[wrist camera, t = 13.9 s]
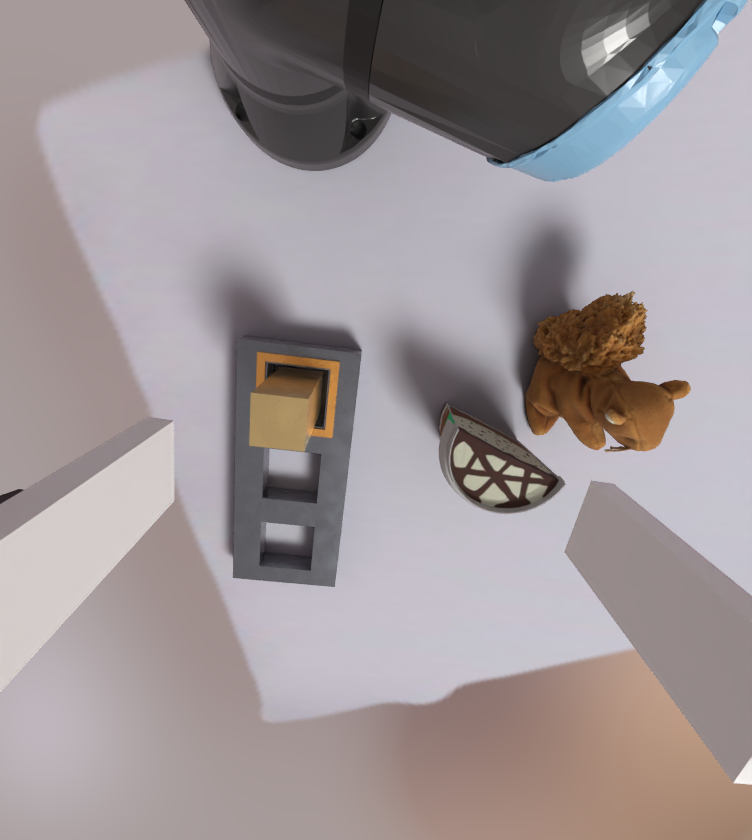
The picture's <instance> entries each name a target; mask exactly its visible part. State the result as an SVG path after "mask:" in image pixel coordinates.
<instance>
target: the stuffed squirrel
mask: <svg viewBox="0 0 752 840" xmlns="http://www.w3.org/2000/svg"><path fill="white" fill-rule="evenodd" d="M634 294H635V292H633V291H632V292H630V293H628V294H626V295H623V296H621V295H620V296H618V293H617V294H616V295H613V296H611V295H607V294H606V295H605V296H602V297H599V298H598V299H596V300H595V301H592V303H591V304H589V305H588V306H585V307H584V308H583V309H582V311H580V310H574V309H573V310H569V311H568V312H566V313H564V314H560V315H559V316H558V317H556V316H555V317H554V316H552V317H550V316H548V318H547V319H545V320H544V321H541V322H540V323H538V324H539V328H538V329H537V331H536V332H537V333H536V334H535V337H533V339H534V345H535V348H537V349H539V356H541V355H542V356H541V357H540V358H539V360H538V362H537V364H536V367H535V370H534V373H533V376H532V379H531V382H530V385H529V387H528V390H527V392H526V409H527V417H528V422H529V425H530V427H531V430H532V432H533V434H535V435H544V434H545V433H547V432H548V431H549V430H550V429H551V427H552V426H553V425H554V423H555V422H556V421H557V419H558V418H559V416H560V417H562V418H564V419H565V421H566V422H567V423H568V425H569V426H570V428H571V429H572V431H573V433H574V434H575V435H576V437H577V438H578V439H579V440H580V441H581V442H582V443H583V444H584V445H586V446H587V447H589V448H591V449H594V450H599V449H600V448H602V447H604V446H605V444H606V439H605V434H604V430H603V428H604V429H605V430H606V431H607V432H608V433H609V434H610V435H611V436H612V437H613V438H614V439H615V440H616V441H617V442H618V443H620V444H622V445H624V446H625V447H622V446H620V447H612V446H611V447H610V449H611V450H610V449H606V450H605V452H615V451H625V450H629V449H633V450H636V451H649V450H652V449H654V448H656V447H657V446H658V445H659V444H660V443H661V440H662V438H663V436H664V433H665V431H666V429H667V427H668V425H669V422H670V419H671V418H672V416H673V414H674V401H673V400H675V399H680V398H683V397H685V396H686V395H687V394H688V393H689V392H690V390H691V388H690V386H689V383H688V382H686V381H679V380H673V381H669V382H664V383H662V384H660V385H656V384H654V383H649V382H642V381H631V380H630V378H629V377H628V375H627V374H626V372H625V371H624V369H623V368H622V367H621V366H620V365H621V363H623V362H625V361H629V360H632V359H635V358H636V357H637V355H640V354H643V350H644V349H645V348H644V347H640V345H641V344H642V343H643V341H644V339H645V338H644V335H643V334H642V333H644V331H646V330H645V329H646V327H645V324H644V323H645V321H644V320H645V319H646V317H647V316H646V314H645V313H646V312H647V311H648V310H646V309H645V308H644V305H643V302H642V303H641V304H638V303H637V302H635V303H634V304H632V303H633V302H632V297H633V295H634ZM612 449H620V450H612Z"/></svg>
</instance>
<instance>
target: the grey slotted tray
mask: <svg viewBox="0 0 752 840" xmlns="http://www.w3.org/2000/svg"><path fill="white" fill-rule="evenodd" d="M361 352H362V350H355V349H347V348H339V347H331V346H323V345H315V344H307V343H299V342H291V341H283V340H275V339H267V338H258V337H250V336H243V337H240V338H237V367H236V428H235V489H234V551H233V578H241V579H252V580H263V581H274V582H286V583H297V584H308V585H319V586H330V587H335V580H336V571H337V562H338V553H339V545H340V536H341V527H342V518H343V510H344V501H345V492H346V483H347V475H348V466H349V457H350V448H351V440H352V431H353V422H354V414H355V405H356V396H357V387H358V379H359V370H360V361H361ZM273 364H280V365H288V366H296V367H304V368H313V369H321V370H329V374H328V385H327V396H326V407H325V418H324V419H317V421H316V424H315V426H314V429H313V431H312V434H311V436H310V439H309V441H308V444H307V446H306V449H305V451H304V452H308V453H318V454H321V463H320V474H319V485H318V492H309V491H299V490H289V489H279V488H270V487H268V468H269V448H266V447H257V446H249V437H250V401H251V392H252V391H253V390H254V389H255V388H257V387H258V386H259V385H260V384H261V383H262V382H263V381H265V380H266V379H267V378H268V377H269V376H270V375H271V374H273ZM271 449H275V448H271ZM281 450H284V449H281ZM290 451H294V450H290ZM299 452H303V451H299ZM266 522H269V523H279V524H290V525H300V526H310V527H315V530H314V541H313V552H312V557H307V556H296V555H286V554H275V553H265V534H266Z"/></svg>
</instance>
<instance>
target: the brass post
mask: <svg viewBox="0 0 752 840" xmlns="http://www.w3.org/2000/svg"><path fill="white" fill-rule="evenodd" d="M322 383H323V372H321V371H313V370H304V369H296V368H288V367H280V368H278V369H277V370H276V371H275V372H274V373H273V374H271V375H270V376H269V377H268V378H267V379H266V380H265V381H263V382H262V383H261V384H260V385H259V386H258V387H257V388H255V389H254V390H253V391H252V392H251V401H250V437H249V446H257V447H266V448H275V449H284V450H294V451H303V452H304V451H305V449H306V446H307V444H308V441H309V439H310V436H311V434H312V431H313V429H314V426H315V424H316V421H317V419H318V416H319V414H320V406H321V395H322Z"/></svg>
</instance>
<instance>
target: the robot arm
mask: <svg viewBox="0 0 752 840" xmlns="http://www.w3.org/2000/svg"><path fill="white" fill-rule="evenodd" d="M747 1H748V0H185V2H186V3H187V5H188V6H189V8H190V9H191V11H192V13H193V14H194V15H195V17H196V19H197V20H198V22H199V24H200V25H201V27H202V28H203V30H204V31H205V33H206V35H207V36H208V38H209V40H210V49H211V57H212V64H213V68H214V73H215V76H216V80H217V83H218V86H219V89H220V91H221V94H222V96H223V98H224V101H225V103H226V105H227V107H228V109H229V110H230V112H231V114H232V115H233V117H234V118H235V120H236V121H237V123H238V124H239V125H240V127H241V128H242V129H243V131H244V132H245V133H246V135H247V136H248V137H249V138H250V139H251V140H252V141H253V143H254V144H255V145H256V146H257V147H259V148H260V149H261V150H262V151H263V152H265V153H266V154H267V155H269V156H270V157H272V158H273V159H275V160H277V161H278V162H280V163H283V164H285V165H287V166H290V167H293V168H297V169H301V170H309V171H321V170H329V169H333V168H336V167H339V166H342V165H344V164H347V163H349V162H351V161H352V160H354V159H356V158H357V157H359V156H360V155H361V154H362V153H364V152H365V151H366V150H367V149H368V148H369V147H370V146H371V145H372V144H373V143H374V142H375V140H376V139H377V138H378V136H379V135H380V134H381V132H382V130H383V129H384V127H385V125H386V123H387V121H388V119H389V117H390V115H391V113H393V114H395V115H397V116H399V117H402V118H404V119H406V120H408V121H410V122H412V123H414V124H417V125H419V126H421V127H423V128H425V129H427V130H429V131H432V132H434V133H436V134H438V135H440V136H442V137H444V138H447V139H449V140H451V141H453V142H455V143H457V144H459V145H462V146H464V147H466V148H468V149H470V150H472V151H474V152H477V153H479V154H481V155H483V156H485V157H486V158H487V161H488V162H489V163H491V164H492V165H494V166H497V167H502V168H513V169H515V170H518V171H520V172H522V173H525V174H527V175H530V176H532V177H535V178H537V179H540V180H544V181H551V182H555V181H559V180H566V179H569V178H575V177H578V176H580V175H582V174H584V173H586V172H588V171H590V170H592V169H594V168H595V167H597V166H599V165H600V164H602V163H603V162H605V161H606V160H608V159H609V158H610V157H612V156H613V155H614V154H616V153H617V152H618V151H619V150H621V149H622V148H623V147H624V146H625V145H627V144H628V143H629V142H630V141H631V140H632V139H633V138H635V137H636V136H637V135H638V134H639V133H640V132H641V131H642V130H643V129H644V128H645V127H646V126H648V125H649V124H650V123H651V122H652V121H653V120H654V119H655V118H656V117H657V116H658V115H659V114H660V113H661V112H662V111H663V110H664V109H665V107H666V106H667V105H668V104H669V103H670V102H671V101H672V100H673V99H674V98H675V97H676V96H677V95H678V93H679V92H680V91H681V90H682V89H683V88H684V87H685V86H686V84H687V83H688V82H689V81H690V80H691V79H692V77H693V76H694V75H695V74H696V72H697V71H698V70H699V69H700V67H701V66H702V65H703V64H704V62H705V61H706V60H707V58H708V57H709V56H710V54H711V53H712V52H713V50H714V49H715V48H716V46H717V44H718V35H717V34H718V33H719V32H720V31H721V30H722V29H723V28H724V27H725V26H726V25H727V24H728V23H729V22H730V21H731V20H732V19H733V18H734V17H735V16H736V15H737V14H739V13H740V12H741V10H742V9H743V7H744V5H745V4H746V2H747ZM173 501H174V421H173V420H166V419H159V418H152V417H147V418H145V419H143V420H142V421H140V422H138V423H137V424H135V425H133V426H132V427H130V428H128V429H126V430H125V431H123V432H122V433H120V434H118V435H116V436H115V437H113V438H111V439H110V440H108V441H106V442H105V443H103V444H101V445H99V446H98V447H96V448H94V449H93V450H91V451H89V452H88V453H86V454H84V455H83V456H81V457H79V458H77V459H76V460H74V461H73V462H71V463H69V464H67V465H66V466H64V467H62V468H61V469H59V470H57V471H56V472H54V473H52V474H50V475H49V476H47V477H45V478H44V479H42V480H40V481H39V482H37V483H35V484H34V485H32V486H30V487H28V488H27V489H25V490H22V489H18V490H15V491H12V492H10V493H6V494H3V495H1V496H0V692H1V691H2V690H3V689H4V688H5V687H6V685H7V684H8V683H9V682H10V681H11V680H12V679H13V678H14V677H15V676H16V674H17V673H18V672H19V671H20V670H21V669H22V668H23V667H24V665H25V664H26V663H27V662H28V661H29V660H30V659H31V658H32V657H33V656H34V655H35V654H36V652H37V651H38V650H39V649H40V648H41V647H42V646H43V645H44V644H45V642H46V641H47V640H48V639H49V638H50V637H51V636H52V635H53V634H54V633H55V632H56V630H57V629H58V628H59V627H60V626H61V625H62V624H63V623H64V622H65V620H66V619H67V618H68V617H69V616H70V614H72V613H73V612H74V611H75V609H76V608H77V607H78V606H79V605H80V604H81V603H82V602H83V601H84V600H85V598H86V597H87V596H88V595H89V594H90V593H91V592H92V591H93V590H94V589H95V587H96V586H97V585H98V584H99V583H100V582H101V581H102V580H103V579H104V578H105V576H106V575H107V574H108V573H109V572H110V571H111V570H112V569H113V568H114V567H115V565H116V564H117V563H118V562H119V561H120V560H121V559H122V558H123V557H124V556H125V554H126V553H127V552H128V551H129V550H130V549H131V548H132V547H133V546H134V545H135V543H136V542H137V541H138V540H139V539H140V538H141V537H142V536H143V535H144V533H145V532H146V531H147V530H148V529H149V528H150V527H151V526H152V525H153V524H154V523H155V521H156V520H157V519H158V518H159V517H160V516H161V515H162V514H163V512H164V511H165V510H166V509H167V508H168V507H169V506H170V505H171V504H172V503H173ZM565 553H566V555H567V556H568V557H569V559H570V560H571V561H572V563H573V564H574V566H575V567H576V568H577V570H578V571H579V572H580V574H581V575H582V577H583V578H584V579H585V581H586V582H587V583H588V585H589V586H590V587H591V589H592V590H593V592H594V593H595V594H596V596H597V597H598V598H599V600H600V601H601V603H602V604H603V605H604V607H605V608H606V609H607V611H608V612H609V613H610V615H611V616H612V618H613V619H614V620H615V622H616V623H617V624H618V626H619V627H620V629H621V630H622V631H623V633H624V634H625V635H626V637H627V638H628V639H629V641H630V642H631V644H632V645H633V646H634V648H635V649H636V650H637V652H638V653H639V654H640V656H641V657H642V659H643V660H644V661H645V663H646V664H647V665H648V667H649V668H650V669H651V671H652V672H653V674H654V675H655V676H656V678H657V679H658V680H659V682H660V683H661V684H662V686H663V687H664V689H665V690H666V691H667V693H668V694H669V695H670V697H671V698H672V700H673V701H674V702H675V704H676V705H677V706H678V708H679V709H680V711H681V712H682V713H683V715H684V716H685V717H686V719H687V720H688V722H689V723H690V724H691V726H692V727H693V728H694V730H695V731H696V732H697V734H698V735H699V737H700V738H701V739H702V740H703V742H704V743H705V745H706V746H707V748H708V749H709V750H710V752H711V753H712V754H713V756H714V757H715V758H716V760H717V761H718V762H719V764H720V765H721V767H722V768H723V769H724V771H725V772H726V773H727V775H728V776H729V778H730V779H731V780H732V782H733V783H741V784H752V596H751V595H750V594H749V593H747V592H746V591H745V590H744V589H742V588H741V587H740V586H739V585H738V584H736V583H735V582H734V581H733V580H731V579H730V578H729V577H728V576H726V575H725V574H724V573H723V572H722V571H720V570H719V569H718V568H717V567H715V566H714V565H713V564H712V563H710V562H709V561H708V560H707V559H706V558H704V557H703V556H702V555H701V554H699V553H698V552H697V551H696V550H694V549H693V548H692V547H691V546H690V545H688V544H687V543H686V542H685V541H683V540H682V539H681V538H680V537H678V536H677V535H676V534H675V533H674V532H672V531H671V530H670V529H669V528H667V527H666V526H665V525H664V524H662V523H661V522H660V521H659V520H658V519H656V518H655V517H654V516H653V515H651V514H650V513H649V512H648V511H646V510H645V509H644V508H643V507H642V506H640V505H639V504H638V503H637V502H635V501H634V500H633V499H632V498H630V497H629V496H628V495H627V494H626V493H624V492H623V491H622V490H621V489H619V488H618V487H617V486H616V485H615V484H611V483H604V482H597V481H591V483H590V485H589V488H588V491H587V493H586V496H585V499H584V501H583V504H582V507H581V509H580V512H579V515H578V517H577V520H576V523H575V525H574V528H573V531H572V533H571V536H570V539H569V541H568V544H567V547H566V549H565Z"/></svg>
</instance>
